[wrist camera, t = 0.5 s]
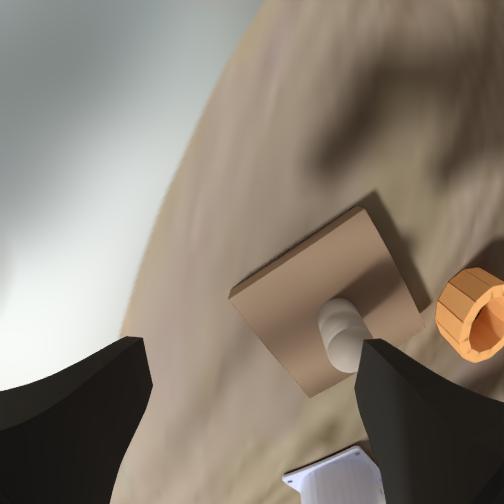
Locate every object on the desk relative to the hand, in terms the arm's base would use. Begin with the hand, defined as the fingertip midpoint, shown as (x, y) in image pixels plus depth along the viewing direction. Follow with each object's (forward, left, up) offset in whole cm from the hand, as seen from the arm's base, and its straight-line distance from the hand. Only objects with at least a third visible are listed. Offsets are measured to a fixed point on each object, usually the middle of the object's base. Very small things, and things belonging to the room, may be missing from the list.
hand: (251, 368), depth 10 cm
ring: (-11, -11, -9) cm, 18 cm away
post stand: (-4, -3, -9) cm, 11 cm away
